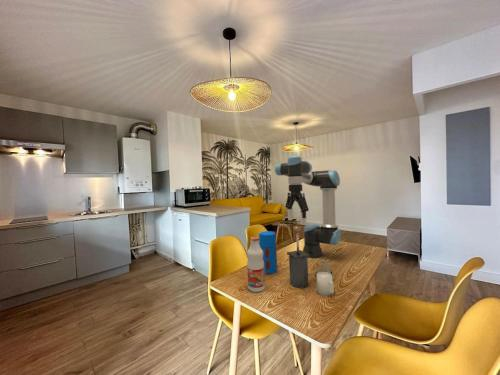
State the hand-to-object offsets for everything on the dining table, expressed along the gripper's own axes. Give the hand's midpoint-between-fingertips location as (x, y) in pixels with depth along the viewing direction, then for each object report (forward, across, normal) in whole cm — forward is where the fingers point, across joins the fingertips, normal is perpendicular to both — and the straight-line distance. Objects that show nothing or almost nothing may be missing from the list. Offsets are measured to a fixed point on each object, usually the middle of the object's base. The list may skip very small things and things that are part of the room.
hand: (296, 222), depth 116 cm
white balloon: (+35, +14, +7) cm, 38 cm away
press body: (+35, -1, 0) cm, 35 cm away
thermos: (+35, -22, -9) cm, 42 cm away
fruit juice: (+35, -5, -24) cm, 43 cm away
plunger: (+21, 0, 0) cm, 21 cm away
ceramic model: (+35, 0, +18) cm, 39 cm away
